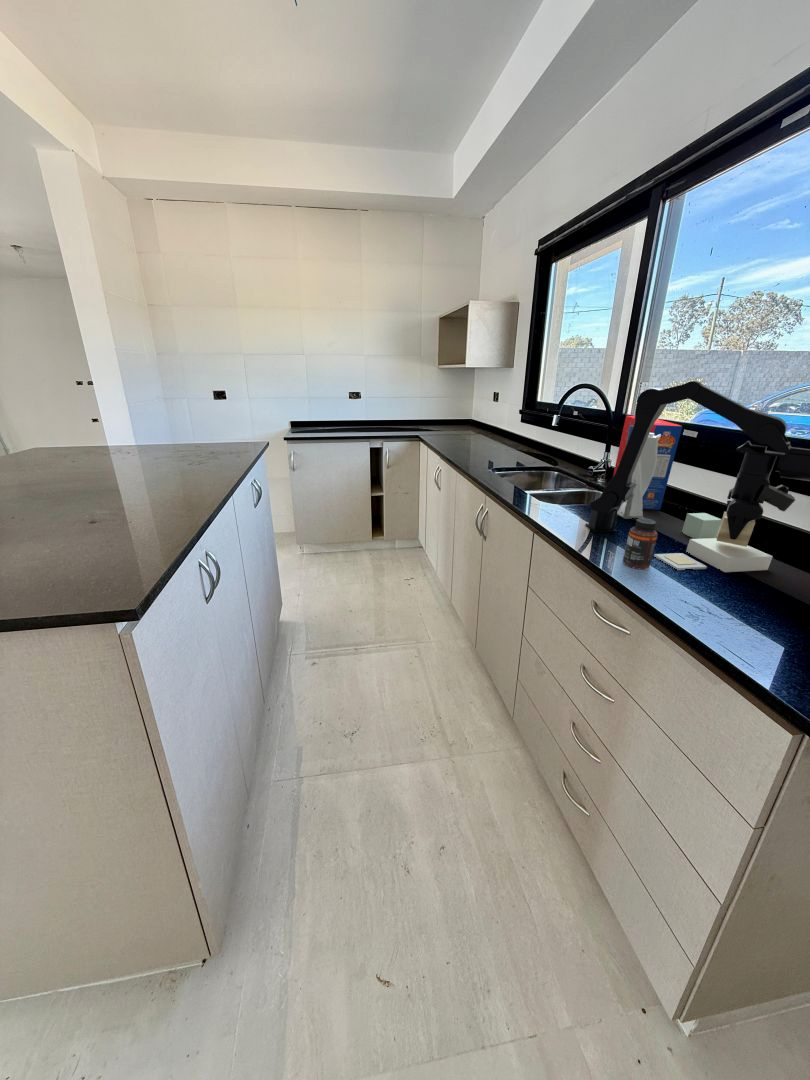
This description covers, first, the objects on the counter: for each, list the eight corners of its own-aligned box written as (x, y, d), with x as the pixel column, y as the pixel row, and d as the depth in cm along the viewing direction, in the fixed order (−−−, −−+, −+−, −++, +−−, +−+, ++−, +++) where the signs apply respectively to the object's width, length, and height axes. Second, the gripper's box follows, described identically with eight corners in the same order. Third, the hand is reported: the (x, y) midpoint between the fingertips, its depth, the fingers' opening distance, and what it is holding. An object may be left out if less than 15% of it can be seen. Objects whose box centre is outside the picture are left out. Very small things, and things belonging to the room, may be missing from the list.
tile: (676, 570, 101) (677, 567, 101) (653, 556, 109) (654, 553, 108) (706, 568, 103) (707, 565, 102) (681, 555, 110) (682, 552, 110)
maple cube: (746, 546, 102) (755, 523, 100) (716, 540, 105) (724, 517, 103) (746, 539, 106) (754, 516, 104) (717, 533, 110) (724, 511, 107)
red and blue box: (610, 487, 173) (626, 415, 162) (631, 488, 172) (648, 416, 161) (635, 508, 147) (655, 424, 136) (660, 510, 146) (682, 426, 135)
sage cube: (697, 540, 120) (703, 520, 118) (681, 532, 126) (687, 513, 124) (716, 539, 121) (722, 519, 119) (699, 532, 127) (705, 513, 125)
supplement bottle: (647, 561, 106) (658, 518, 101) (651, 571, 100) (663, 526, 96) (620, 557, 107) (631, 515, 103) (623, 567, 102) (634, 522, 98)
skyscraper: (610, 511, 144) (629, 425, 133) (632, 511, 145) (653, 426, 134) (624, 519, 136) (646, 429, 126) (648, 519, 137) (671, 430, 127)
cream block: (724, 573, 101) (729, 558, 100) (685, 553, 112) (689, 539, 111) (766, 571, 103) (772, 556, 102) (724, 551, 114) (729, 537, 113)
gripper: (805, 487, 88) (777, 556, 94) (794, 471, 102) (771, 532, 108) (738, 478, 94) (716, 543, 100) (737, 464, 108) (718, 522, 114)
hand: (732, 535), depth 105 cm, fingers closed on maple cube, 6 cm apart
